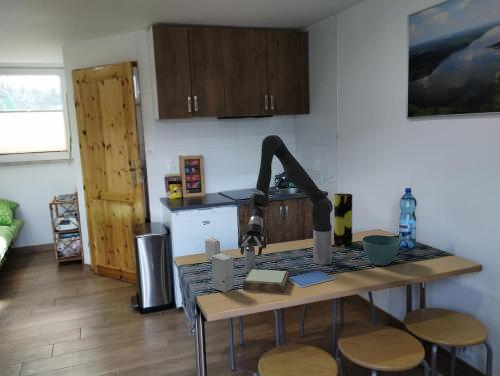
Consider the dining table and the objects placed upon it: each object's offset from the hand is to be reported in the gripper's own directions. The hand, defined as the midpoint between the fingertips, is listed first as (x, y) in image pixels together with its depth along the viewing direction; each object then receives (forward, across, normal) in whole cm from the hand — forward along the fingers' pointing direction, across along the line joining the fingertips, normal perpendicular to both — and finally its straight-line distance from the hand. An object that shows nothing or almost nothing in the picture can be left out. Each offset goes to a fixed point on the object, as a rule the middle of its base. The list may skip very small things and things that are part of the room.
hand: (250, 254), depth 203 cm
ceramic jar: (+7, 0, +4) cm, 8 cm away
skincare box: (+23, -7, -12) cm, 27 cm away
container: (-30, +44, +41) cm, 67 cm away
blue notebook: (+12, +30, 0) cm, 32 cm away
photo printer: (-3, -24, +14) cm, 28 cm away
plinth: (+17, +11, -7) cm, 22 cm away
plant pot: (-9, +63, +20) cm, 67 cm away
